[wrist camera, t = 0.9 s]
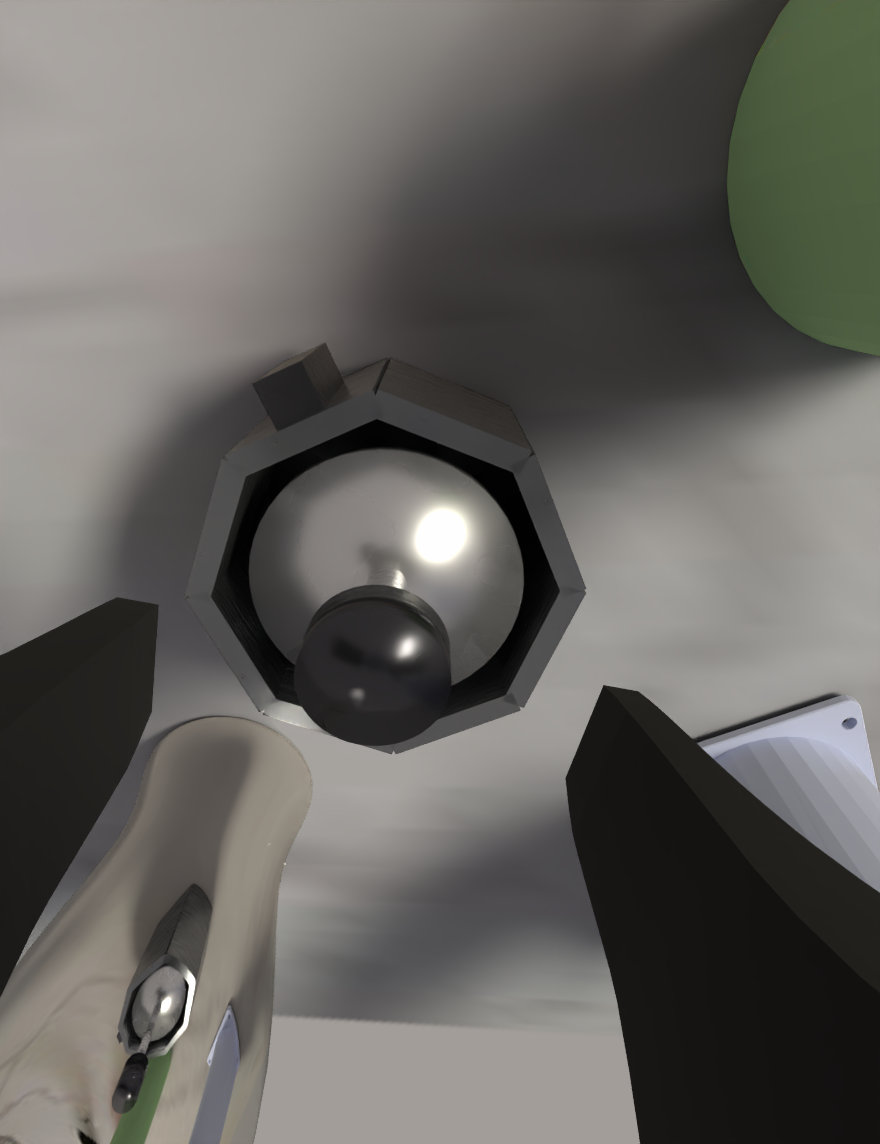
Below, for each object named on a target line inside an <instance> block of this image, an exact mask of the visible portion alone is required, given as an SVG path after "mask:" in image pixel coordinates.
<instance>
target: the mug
mask: <svg viewBox="0 0 880 1144" xmlns="http://www.w3.org/2000/svg"><path fill="white" fill-rule="evenodd" d="M727 194H728V205H729V216H730V224H731V228H732V231H733V235H734V239H735V242H736V246H737V250H738V253H739V257H740V259H741V261H742V263H743V265H744V267H745V269H746V271H747V273H748V275H749V277H750V279H751V281H752V283H753V285H754V287H755V288H756V289H757V291H758V292H759V293H760V294H761V296H762V297H763V298H764V299H765V301H766V302H767V303H768V305H769V306H770V307H771V308H772V310H773V311H774V312H776V313H777V314H778V315H779V316H780V317H782V318H783V319H784V320H785V321H787V322H788V323H789V324H790V325H792V326H793V327H794V328H795V329H796V330H798V331H800V332H802V333H804V334H806V335H808V336H810V337H812V338H814V339H816V340H818V341H820V342H822V343H825V344H829V345H833V346H837V347H841V348H845V349H849V350H853V351H858V352H863V353H868V354H873V355H877V356H880V0H789V1H788V3H787V4H786V6H785V7H784V8H783V10H782V11H781V12H780V14H779V15H778V17H777V19H776V21H775V22H774V24H773V26H772V28H771V30H770V32H769V33H768V35H767V37H766V39H765V41H764V43H763V44H762V46H761V48H760V50H759V52H758V54H757V55H756V57H755V60H754V63H753V65H752V68H751V71H750V73H749V76H748V78H747V81H746V84H745V86H744V89H743V92H742V94H741V97H740V100H739V103H738V108H737V112H736V117H735V121H734V126H733V130H732V135H731V139H730V144H729V158H728V172H727Z"/></svg>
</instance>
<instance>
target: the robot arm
mask: <svg viewBox="0 0 880 1144" xmlns="http://www.w3.org/2000/svg"><path fill="white" fill-rule="evenodd" d="M158 606H159V605H156V604H151V603H145V602H140V601H134V600H129V599H123V598H118V597H117V598H115V599H113V600H111V601H108V602H106V603H104V604H102V605H100V606H98V607H96V608H94V609H92V610H90V611H88V612H86V613H84V614H82V615H80V616H78V617H76V618H75V619H73V620H71V621H69V622H67V623H65V624H63V625H61V626H59V627H57V628H55V629H53V630H51V631H49V632H47V633H45V634H43V635H41V636H39V637H37V638H35V639H33V640H31V641H29V642H27V643H25V644H23V645H21V646H19V647H17V648H15V649H13V650H11V651H9V652H7V653H5V654H3V655H1V656H0V997H1V995H2V993H3V991H4V989H5V987H6V985H7V983H8V980H9V978H10V976H11V974H12V972H13V970H14V968H15V966H16V964H17V961H18V959H19V957H20V955H21V953H22V951H23V949H24V947H25V945H26V943H27V940H28V938H29V936H30V934H31V932H32V930H33V928H34V927H35V925H36V923H37V921H38V919H39V917H40V916H41V914H42V912H43V910H44V908H45V906H46V905H47V903H48V901H49V899H50V897H51V896H52V894H53V892H54V891H55V889H56V887H57V886H58V884H59V882H60V881H61V879H62V877H63V876H64V874H65V872H66V871H67V869H68V867H69V866H70V864H71V862H72V861H73V859H74V857H75V856H76V854H77V852H78V851H79V849H80V847H81V846H82V844H83V842H84V841H85V839H86V837H87V836H88V834H89V832H90V831H91V829H92V827H93V826H94V824H95V822H96V821H97V819H98V817H99V816H100V814H101V812H102V811H103V809H104V807H105V806H106V804H107V802H108V801H109V799H110V797H111V795H112V794H113V792H114V790H115V789H116V787H117V785H118V784H119V782H120V780H121V778H122V777H123V775H124V773H125V771H126V770H127V768H128V766H129V763H130V761H131V759H132V757H133V754H134V752H135V750H136V748H137V745H138V743H139V741H140V738H141V736H142V734H143V731H144V729H145V726H146V724H147V722H148V719H149V717H150V714H151V712H152V697H153V682H154V667H155V652H156V637H157V621H158ZM847 718H850V719H849V720H848V721H846V722H844V723H842V722H843V721H844V720H845V719H847ZM566 786H567V795H568V804H569V812H570V819H571V825H572V832H573V837H574V841H575V845H576V849H577V853H578V856H579V860H580V864H581V868H582V871H583V875H584V879H585V882H586V886H587V890H588V893H589V897H590V900H591V904H592V908H593V911H594V915H595V918H596V922H597V925H598V929H599V933H600V936H601V940H602V943H603V947H604V951H605V954H606V958H607V961H608V965H609V969H610V973H611V977H612V981H613V986H614V990H615V994H616V998H617V1003H618V1009H619V1015H620V1020H621V1026H622V1032H623V1038H624V1043H625V1049H626V1054H627V1061H628V1066H629V1072H630V1079H631V1086H632V1092H633V1099H634V1106H635V1112H636V1119H637V1126H638V1132H639V1139H640V1144H880V792H879V791H878V788H877V783H876V778H875V774H874V769H873V764H872V759H871V754H870V749H869V745H868V740H867V735H866V730H865V725H864V720H863V715H862V711H861V707H860V705H859V703H858V702H857V701H856V700H855V699H854V698H853V697H851V696H848V695H842V696H838V697H835V698H832V699H829V700H826V701H823V702H820V703H817V704H814V705H810V706H807V707H804V708H801V709H798V710H795V711H792V712H789V713H786V714H783V715H780V716H777V717H774V718H771V719H768V720H765V721H762V722H759V723H756V724H753V725H750V726H747V727H744V728H741V729H738V730H735V731H732V732H729V733H726V734H723V735H720V736H717V737H714V738H711V739H708V740H705V741H702V742H698V743H696V742H695V741H694V740H693V739H692V738H691V737H689V736H688V735H687V734H686V733H685V732H684V731H683V730H682V729H681V728H680V727H679V726H678V725H677V724H676V723H674V722H673V721H672V720H671V719H670V718H669V717H668V716H667V715H666V714H665V713H663V712H662V711H661V710H660V709H659V708H658V707H657V706H656V705H654V704H653V703H652V702H651V701H650V700H648V699H647V698H646V697H645V696H643V695H642V694H641V693H639V692H638V691H633V690H627V689H622V688H616V687H611V686H605V685H603V688H602V690H601V693H600V695H599V698H598V700H597V703H596V705H595V707H594V710H593V712H592V715H591V717H590V720H589V722H588V725H587V727H586V730H585V732H584V734H583V737H582V739H581V742H580V744H579V747H578V749H577V752H576V754H575V756H574V759H573V761H572V764H571V766H570V769H569V771H568V774H567V776H566Z"/></svg>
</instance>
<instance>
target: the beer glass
mask: <svg viewBox="0 0 880 1144" xmlns="http://www.w3.org/2000/svg"><path fill="white" fill-rule="evenodd" d="M311 800H312V779H311V775H310V771H309V768H308V766H307V764H306V762H305V760H304V758H303V757H302V755H301V754H300V753H299V751H298V750H297V749H296V748H295V747H294V746H293V745H292V744H291V743H290V742H289V741H288V740H286V739H285V738H284V737H283V736H281V735H280V734H278V733H277V732H275V731H273V730H271V729H269V728H267V727H265V726H263V725H261V724H258V723H255V722H252V721H249V720H245V719H240V718H233V717H209V718H203V719H198V720H194V721H191V722H188V723H186V724H183V725H181V726H179V727H177V728H176V729H174V730H173V731H171V732H170V733H169V734H167V735H166V736H165V737H164V738H163V739H162V740H161V741H160V742H159V743H158V744H157V746H156V747H155V749H154V750H153V752H152V754H151V756H150V758H149V760H148V763H147V766H146V768H145V772H144V775H143V778H142V782H141V785H140V789H139V793H138V796H137V800H136V803H135V806H134V808H133V811H132V813H131V815H130V818H129V820H128V822H127V824H126V826H125V827H124V829H123V831H122V832H121V834H120V835H119V837H118V838H117V840H116V842H115V843H114V845H113V846H112V847H111V849H110V850H109V851H108V852H107V854H106V855H105V856H104V857H103V859H102V860H101V861H100V863H99V864H98V865H97V866H96V868H95V869H94V870H93V871H92V872H91V874H90V875H89V876H88V877H87V878H86V880H85V881H84V882H83V883H82V884H81V886H80V887H79V888H78V889H77V890H76V892H75V893H74V894H73V895H72V896H71V898H70V899H69V900H68V901H67V902H66V903H65V905H64V906H63V907H62V908H61V910H60V911H59V912H58V913H57V914H56V916H55V917H54V918H53V919H52V921H51V922H50V923H49V924H48V925H47V927H46V928H45V929H44V930H43V932H42V933H41V934H40V935H39V936H38V938H37V939H36V940H35V941H34V943H33V944H32V945H31V946H30V948H29V949H28V950H27V952H26V953H25V954H24V956H23V957H22V958H21V960H20V961H19V962H18V964H17V965H16V966H15V968H14V970H13V972H12V974H11V976H10V978H9V980H8V983H7V985H6V987H5V989H4V991H3V993H2V995H1V997H0V1144H253V1142H254V1138H255V1133H256V1129H257V1123H258V1117H259V1111H260V1106H261V1100H262V1094H263V1089H264V1083H265V1078H266V1072H267V1066H268V1056H269V1045H270V1035H271V1024H272V1014H273V1001H274V980H275V958H276V929H277V910H278V896H279V888H280V882H281V877H282V872H283V868H284V865H286V863H285V861H286V858H287V856H288V853H289V851H290V848H291V846H292V844H293V842H294V840H295V838H296V836H297V834H298V832H299V830H300V828H301V826H302V824H303V822H304V820H305V817H306V815H307V813H308V810H309V807H310V804H311Z"/></svg>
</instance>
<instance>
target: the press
mask: <svg viewBox="0 0 880 1144" xmlns="http://www.w3.org/2000/svg"><path fill="white" fill-rule="evenodd" d="M252 385H253V387H254V388H255V390H256V392H257V394H258V396H259V398H260V400H261V402H262V403H263V405H264V407H265V409H266V411H267V413H268V416H267V417H266V418H265V419H264V420H262V421H261V422H260V423H259V424H258V425H257V426H256V427H255V428H254V429H253V430H252V431H251V432H249V433H248V434H247V435H246V436H245V437H244V438H243V439H242V440H241V441H240V442H239V443H238V444H236V445H235V446H234V447H233V448H232V449H231V450H230V451H229V452H228V453H227V454H226V455H225V456H224V457H223V458H222V459H221V463H220V466H219V470H218V474H217V477H216V481H215V485H214V488H213V492H212V496H211V499H210V503H209V507H208V510H207V514H206V518H205V521H204V525H203V529H202V532H201V536H200V540H199V543H198V547H197V551H196V554H195V558H194V562H193V565H192V569H191V573H190V576H189V580H188V584H187V587H186V591H185V595H186V596H187V598H186V599H185V600H186V601H187V603H188V604H189V606H190V607H191V609H192V610H193V612H194V614H195V615H196V617H197V618H198V620H199V621H200V623H201V624H202V626H203V627H204V629H205V630H206V632H207V633H208V635H209V636H210V638H211V639H212V641H213V642H214V644H215V645H216V647H217V649H218V650H219V652H220V653H221V655H222V656H223V658H224V659H225V661H226V662H227V664H228V665H229V667H230V668H231V670H232V671H233V673H234V674H235V676H236V677H237V679H238V680H239V682H240V684H241V685H242V687H243V688H244V690H245V691H246V693H247V694H248V696H249V697H250V699H251V700H252V702H253V703H254V705H255V706H256V708H257V709H258V711H259V712H260V711H263V710H264V713H263V715H266V716H269V717H272V718H276V719H279V720H282V721H285V722H288V723H292V724H295V725H298V726H301V727H305V728H308V729H311V730H314V731H318V732H321V733H324V734H327V735H331V734H329V733H327V732H326V731H324V730H323V729H321V728H320V727H319V726H318V725H317V724H315V723H314V722H313V721H312V719H311V718H310V717H309V716H308V715H307V714H306V712H305V711H304V709H303V708H302V706H301V704H300V702H299V700H298V697H297V694H296V691H295V686H294V669H295V665H294V664H293V663H292V662H291V661H290V660H288V659H287V658H286V657H285V656H284V654H283V653H282V652H281V651H280V650H279V649H278V648H277V647H276V646H275V644H274V643H273V641H272V640H271V639H270V637H269V636H268V634H267V633H266V631H265V629H264V627H263V625H262V623H261V622H260V620H259V617H258V615H257V612H256V609H255V606H254V604H253V599H252V595H251V590H250V582H249V561H250V552H251V548H252V544H253V539H254V536H255V534H256V531H257V529H258V526H259V524H260V522H261V520H262V518H263V516H264V515H265V513H266V511H267V509H268V508H269V506H270V505H271V503H272V502H273V500H274V499H275V498H276V497H277V495H278V494H279V493H280V492H281V490H282V489H283V488H284V487H285V486H286V485H287V484H288V483H289V482H290V481H291V480H293V479H294V478H295V477H296V476H297V475H299V474H300V473H301V472H303V471H304V470H306V469H307V468H308V467H310V466H312V465H314V464H316V463H317V462H319V461H321V460H323V459H325V458H327V457H330V456H333V455H336V454H339V453H341V452H344V451H349V450H354V449H359V448H365V447H377V446H388V447H403V448H408V449H414V450H419V451H422V452H426V453H429V454H432V455H435V456H438V457H440V458H442V459H444V460H447V461H449V462H451V463H453V464H455V465H457V466H458V467H460V468H461V469H463V470H464V471H466V472H468V473H469V474H471V475H472V476H473V477H474V478H475V479H477V480H478V481H479V482H480V483H481V484H482V485H484V486H485V487H486V489H487V490H488V491H489V492H490V493H491V494H492V495H493V496H494V497H495V498H496V500H497V501H498V503H499V504H500V506H501V507H502V508H503V510H504V511H505V513H506V515H507V517H508V519H509V521H510V523H511V525H512V527H513V529H514V532H515V535H516V538H517V541H518V544H519V547H520V551H521V557H522V562H523V573H524V586H523V594H522V601H521V605H520V608H519V612H518V615H517V618H516V620H515V623H514V625H513V627H512V630H511V631H510V633H509V635H508V636H507V638H506V640H505V641H504V643H503V644H502V645H501V647H500V648H499V649H498V651H497V652H496V653H495V654H494V655H493V656H492V657H491V658H490V659H489V660H488V661H487V662H486V663H485V664H484V665H483V666H482V667H481V668H479V669H478V670H477V671H475V672H474V673H473V674H472V675H470V676H469V677H467V678H465V679H463V680H462V681H460V682H458V683H457V684H454V685H452V686H451V692H450V696H449V700H448V702H447V705H446V707H445V709H444V711H443V712H442V714H441V715H440V717H439V718H438V719H437V720H436V721H435V722H434V723H433V724H432V725H431V726H430V727H429V728H428V729H426V730H425V731H424V732H422V733H421V734H419V735H417V736H415V737H414V738H411V739H409V740H406V741H403V742H400V743H397V744H391V745H384V746H366V745H363V746H366V747H369V748H373V749H376V750H379V751H382V752H385V753H389V754H392V753H393V750H394V752H395V753H396V754H398V753H401V752H404V751H407V750H410V749H413V748H415V747H418V746H421V745H424V744H427V743H430V742H432V741H435V740H438V739H441V738H444V737H447V736H449V735H452V734H455V733H458V732H461V731H464V730H466V729H469V728H472V727H475V726H478V725H481V724H483V723H486V722H489V721H492V720H495V719H498V718H500V717H503V716H506V715H509V714H512V713H515V712H518V711H520V707H523V708H524V706H525V705H526V703H527V701H528V699H529V697H530V695H531V694H532V692H533V690H534V688H535V686H536V684H537V682H538V681H539V679H540V677H541V675H542V673H543V671H544V670H545V668H546V666H547V664H548V662H549V660H550V659H551V657H552V655H553V653H554V651H555V649H556V647H557V646H558V644H559V642H560V640H561V638H562V636H563V635H564V633H565V631H566V629H567V627H568V625H569V624H570V622H571V620H572V618H573V616H574V614H575V612H576V611H577V609H578V607H579V605H580V603H581V601H582V600H583V598H584V596H585V594H586V592H585V589H586V587H585V584H584V582H583V579H582V576H581V574H580V571H579V568H578V566H577V563H576V560H575V558H574V555H573V552H572V550H571V547H570V544H569V542H568V539H567V537H566V534H565V531H564V529H563V526H562V523H561V521H560V518H559V515H558V513H557V510H556V507H555V505H554V502H553V499H552V497H551V494H550V492H549V489H548V486H547V484H546V481H545V478H544V476H543V473H542V470H541V468H540V465H539V462H538V460H537V457H536V454H535V453H534V451H533V449H532V447H531V445H530V443H529V441H528V439H527V438H526V436H525V434H524V432H523V430H522V428H521V426H520V424H519V423H518V421H517V419H516V417H515V415H514V413H513V411H512V409H510V408H509V406H508V405H506V404H503V403H501V402H498V401H496V400H493V399H491V398H488V397H486V396H484V395H481V394H479V393H476V392H474V391H471V390H469V389H466V388H464V387H462V386H459V385H457V384H454V383H452V382H449V381H447V380H444V379H442V378H440V377H437V376H435V375H432V374H430V373H427V372H425V371H422V370H420V369H418V368H415V367H413V366H410V365H408V364H405V363H403V362H401V361H398V360H396V359H393V358H391V360H390V363H389V360H388V358H386V359H384V360H382V361H380V362H377V363H375V364H373V365H371V366H369V367H366V368H364V369H362V370H360V371H358V372H355V373H353V374H351V375H349V376H347V377H344V378H342V377H341V374H340V372H339V370H338V368H337V366H336V364H335V362H334V360H333V358H332V356H331V353H330V351H329V349H328V347H327V345H326V343H323V344H321V345H319V346H317V347H315V348H312V349H310V350H308V351H306V352H304V353H302V354H300V355H297V356H295V357H293V358H291V359H289V360H287V361H285V362H283V363H282V364H280V365H279V366H277V367H276V368H274V369H273V370H271V371H270V372H268V373H267V374H265V375H264V376H262V377H261V378H259V379H258V380H256V381H255V382H253V383H252ZM331 736H333V735H331ZM334 737H335V736H334Z"/></svg>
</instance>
